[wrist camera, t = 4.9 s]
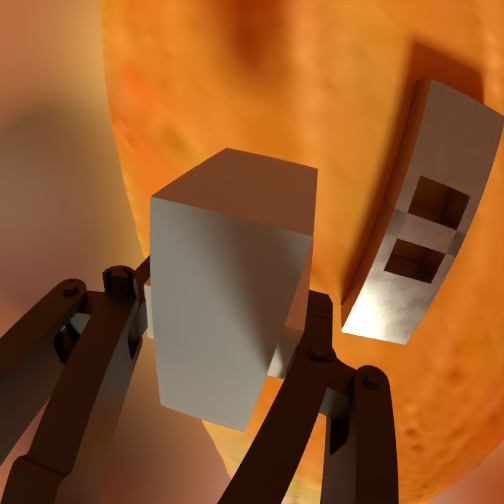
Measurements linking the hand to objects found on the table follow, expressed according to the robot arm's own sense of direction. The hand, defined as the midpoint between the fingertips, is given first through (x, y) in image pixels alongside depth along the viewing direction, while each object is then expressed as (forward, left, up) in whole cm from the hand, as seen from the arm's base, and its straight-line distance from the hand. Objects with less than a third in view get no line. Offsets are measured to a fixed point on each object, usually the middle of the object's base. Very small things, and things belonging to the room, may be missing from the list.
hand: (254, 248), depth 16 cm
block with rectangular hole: (0, +14, -15) cm, 20 cm away
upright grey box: (0, 0, -3) cm, 3 cm away
